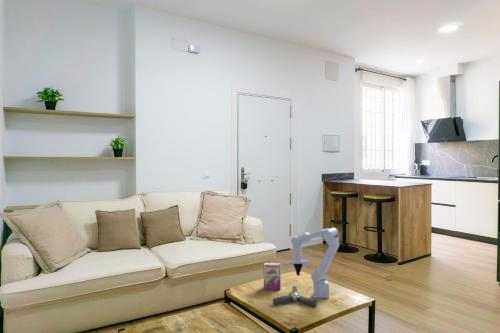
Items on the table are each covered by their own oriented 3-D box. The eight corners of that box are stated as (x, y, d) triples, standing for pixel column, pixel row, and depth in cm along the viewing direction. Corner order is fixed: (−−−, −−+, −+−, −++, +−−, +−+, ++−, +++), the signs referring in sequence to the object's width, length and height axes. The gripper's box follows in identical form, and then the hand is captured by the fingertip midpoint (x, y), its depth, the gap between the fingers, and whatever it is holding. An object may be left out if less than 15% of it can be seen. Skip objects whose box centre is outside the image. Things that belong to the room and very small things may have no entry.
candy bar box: (263, 289, 217) (263, 264, 216) (264, 286, 221) (264, 262, 221) (280, 290, 214) (280, 265, 214) (281, 287, 219) (280, 262, 219)
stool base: (316, 299, 199) (316, 292, 199) (317, 307, 189) (317, 300, 188) (274, 297, 203) (273, 290, 203) (272, 305, 193) (272, 298, 192)
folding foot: (297, 297, 202) (297, 293, 201) (292, 297, 202) (292, 293, 202) (296, 290, 212) (296, 286, 212) (292, 290, 213) (292, 286, 213)
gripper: (306, 251, 220) (306, 271, 220) (285, 253, 218) (285, 273, 218) (309, 255, 213) (310, 275, 213) (287, 256, 211) (288, 277, 211)
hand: (297, 274), depth 215 cm, fingers closed
